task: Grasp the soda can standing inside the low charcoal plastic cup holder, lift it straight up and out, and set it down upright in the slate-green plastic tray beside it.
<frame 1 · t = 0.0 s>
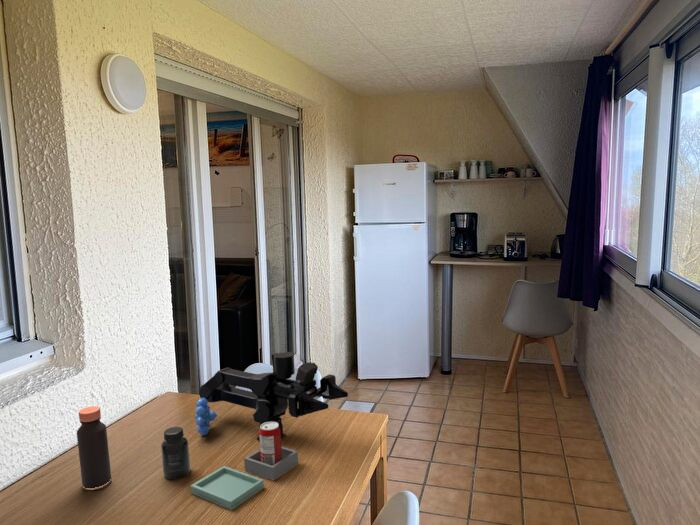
hand: (338, 400, 143), 17 cm above the table, tool horizontal, fingers open, 9 cm apart
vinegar: (97, 484, 137), on the table
cup holder: (272, 467, 141), on the table
soda can: (272, 468, 142), resting in cup holder
grapes: (207, 435, 163), on the table
tray: (227, 490, 131), on the table
supplement bottle: (177, 474, 140), on the table
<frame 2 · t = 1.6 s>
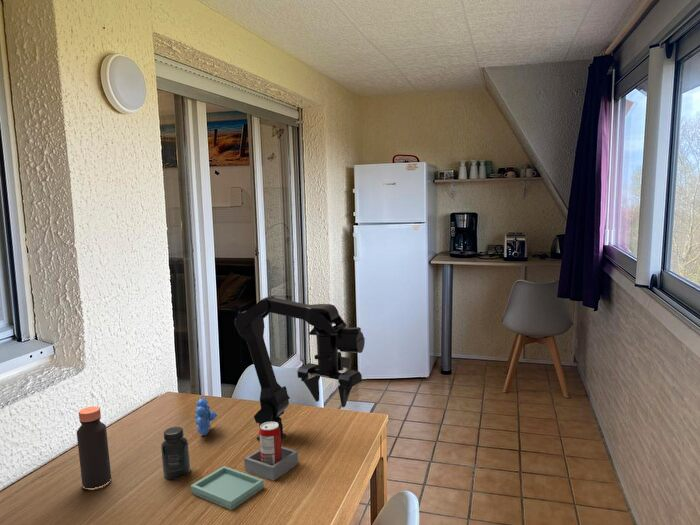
hand: (330, 403, 149), 13 cm above the table, tool pointing down, fingers open, 9 cm apart
nothing on the table moved.
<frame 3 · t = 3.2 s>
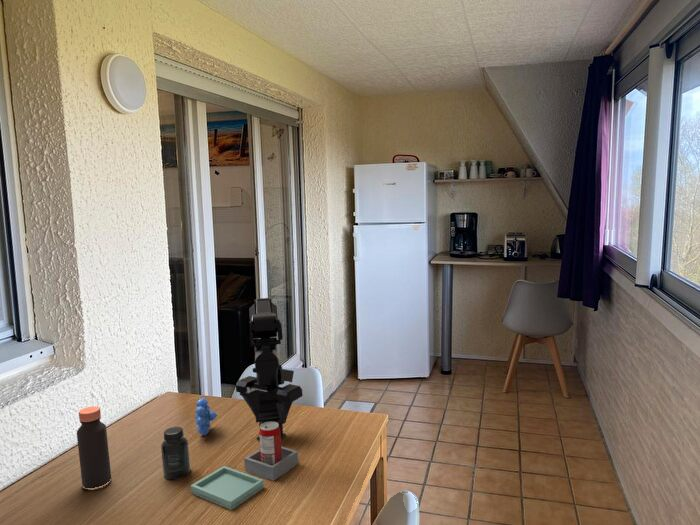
hand: (270, 420, 140), 13 cm above the table, tool pointing down, fingers open, 9 cm apart
nothing on the table moved.
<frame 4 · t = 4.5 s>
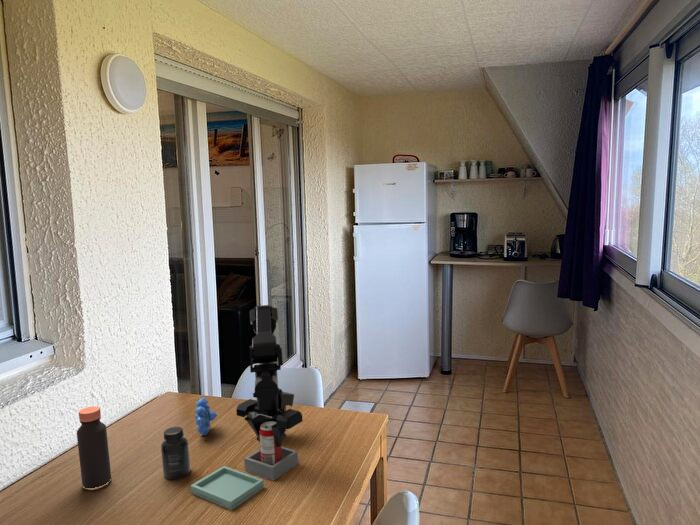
hand: (270, 444, 141), 7 cm above the table, tool pointing down, fingers closed on soda can, 5 cm apart
soda can: (272, 467, 142), resting in cup holder, touching gripper
everything else where it was.
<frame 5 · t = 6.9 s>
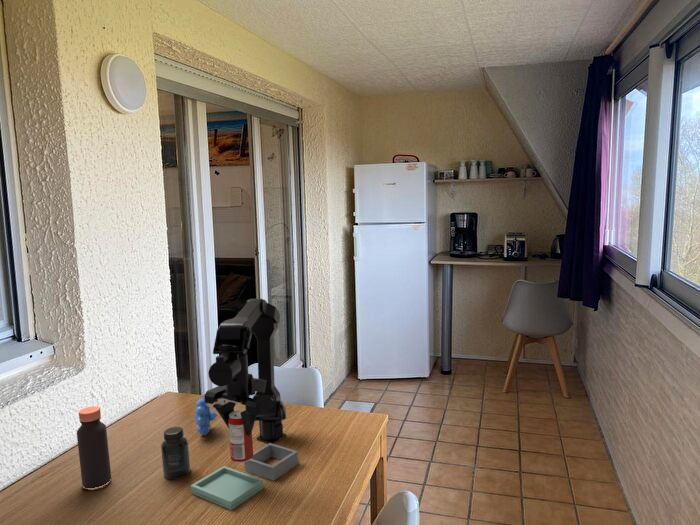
hand: (240, 432, 133), 13 cm above the table, tool pointing down, fingers closed on soda can, 5 cm apart
soda can: (242, 459, 133), point 6 cm above the table, touching gripper
everything else where it was.
when the fingers open (9 cm above the table, at t = 9.1 s): soda can stays where it is, resting on tray.
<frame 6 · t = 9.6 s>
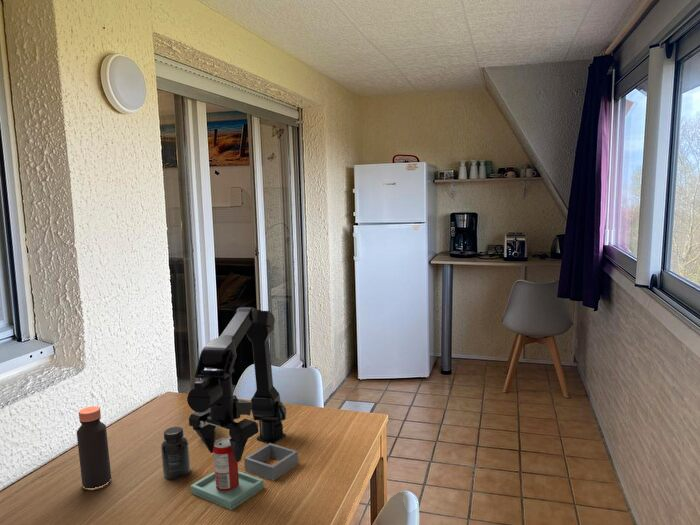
hand: (225, 456, 130), 9 cm above the table, tool pointing down, fingers open, 9 cm apart
soda can: (227, 487, 131), point 1 cm above the table, touching tray
everything else where it was.
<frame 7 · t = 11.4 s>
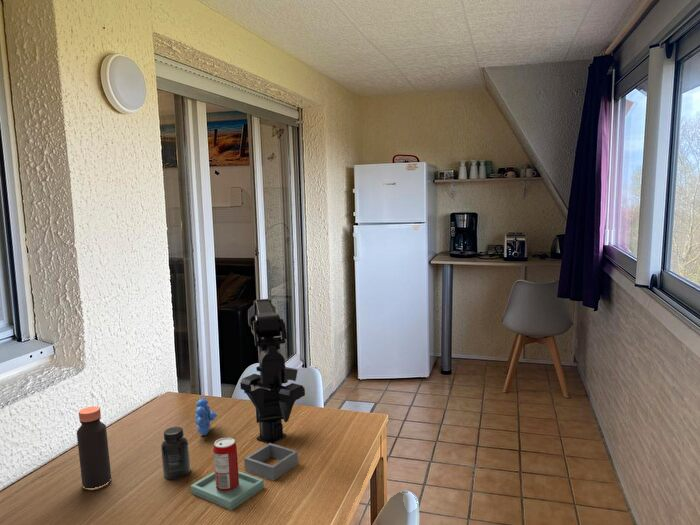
hand: (273, 417, 142), 13 cm above the table, tool pointing down, fingers open, 9 cm apart
nothing on the table moved.
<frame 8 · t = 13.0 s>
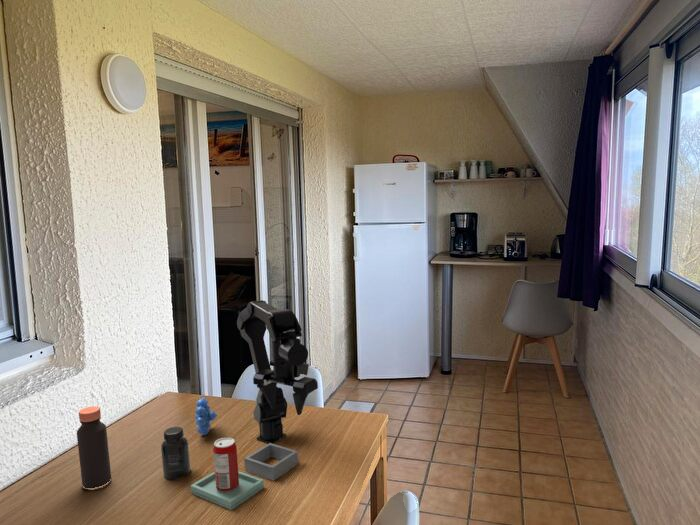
hand: (286, 411, 146), 13 cm above the table, tool pointing down, fingers open, 9 cm apart
nothing on the table moved.
at the end: soda can inside the target area on the tray (0.1 cm from its centre), point 0.6 cm above the tray's base; soda can tilted 0°; the gripper is holding nothing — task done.
